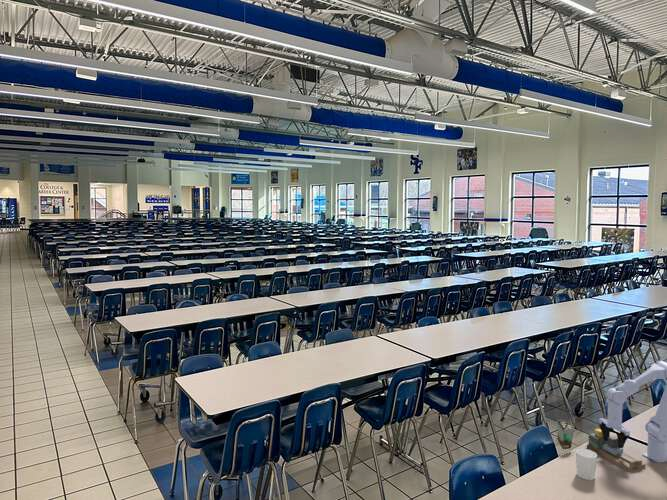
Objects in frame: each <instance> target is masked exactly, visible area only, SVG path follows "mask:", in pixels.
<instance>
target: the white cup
mask: <svg viewBox="0 0 667 500" xmlns="http://www.w3.org/2000/svg"><path fill="white" fill-rule="evenodd" d="M597 459H598V454H597V453H595V452H593V451H592V450H590V449H588V448H577V449H576V450H575V464H576V468H575V469H576V475H577V476H578V477H579V478H580V479H582V480H587V481H592V480H594V479H595V478H596V477H595V476H596V471H597V464H598V463H597V462H598V461H597Z"/></svg>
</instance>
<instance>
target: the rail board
mask: <svg viewBox="0 0 667 500" xmlns="http://www.w3.org/2000/svg"><path fill="white" fill-rule="evenodd" d="M609 437H612V436H611V435H609ZM604 444H608V441H604V437H598V436H597V433H596V432H593V433H588V444H586V449H588V450H591V451H593V452H595V453H596V454H597V455H599V456H600V457H602V458H604V459H606V460H607V461H609V462H611V463H612V464H615V465H617V467H619V468H622V469H623V470H625V471H627V472H629V471H634V470H640V469H645V468H646V464H645V463H644V462H643V460H642V459H641V458H640V459H636V458H634V457H633V456H630V455H629V454H627V453H625V452H623V453H622V455H621V454H617V456H615V455H613V454H611V453H609V452H608V451H606V450H604V449H603V446H604Z"/></svg>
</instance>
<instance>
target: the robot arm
mask: <svg viewBox="0 0 667 500" xmlns="http://www.w3.org/2000/svg"><path fill="white" fill-rule="evenodd" d="M654 379H659V380H663V381H664V382H665V384H666V385H665V387H664V390H663V394H662V396H661V398H660V400H659V404H658V407H657V408H656V409H657V410H656V411H655V415H653V416H651V417H650V418H649V420H648V421H647V423H645V426H644V427H645V428H644V429H645V431H646V433H647V449H646V450H647V452H644V453H642V456H644V457H646V458H648V459H650V460H652V461H654V462H656V463H657V464H658V463H659V464H661V463H665V462H666V463H667V362H666V361H664V360H658V361H656V362H655V363H653V364H651V366H650V368H648V369H647V370H645V371H644V372H643V373H641V374H640V375H638V376H637V377H635V378H634V379H625V380H624V382H622V383H621V384H619V385H616V386H615V387H611V388H609V389H608V390H607V391H606V392H605V397H606V398H607V418H603V417H601V418H599V423H600V424H599V425H598V427H599V429H601V431H602V433H603V437H604V441H608V437H609V436H611V435H610V433H611V429H613V430H616V431H617V432H616V437H617V438H618V448H623V449H624V447H625V443H626V442H627V440H628V438H629V437H630V436H631V431H630V430H629V429H627V428H626V427H625V426H624V425H622V423H623V408H624V407H623V405H624V403H625V402H626V400H627V398H628V397H630V396H632V395H634V394H635V393H637V392H638V391H639V389H640V386H643V385H645V384H646V383H649V382H652V381H653V380H654Z"/></svg>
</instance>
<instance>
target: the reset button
mask: <svg viewBox="0 0 667 500" xmlns="http://www.w3.org/2000/svg"><path fill="white" fill-rule="evenodd" d="M594 433H597V436H598V437H603V433H602V431H601V429H600V428H595V430H594Z"/></svg>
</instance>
